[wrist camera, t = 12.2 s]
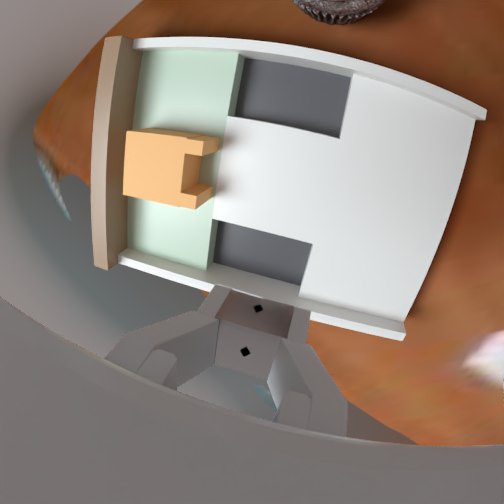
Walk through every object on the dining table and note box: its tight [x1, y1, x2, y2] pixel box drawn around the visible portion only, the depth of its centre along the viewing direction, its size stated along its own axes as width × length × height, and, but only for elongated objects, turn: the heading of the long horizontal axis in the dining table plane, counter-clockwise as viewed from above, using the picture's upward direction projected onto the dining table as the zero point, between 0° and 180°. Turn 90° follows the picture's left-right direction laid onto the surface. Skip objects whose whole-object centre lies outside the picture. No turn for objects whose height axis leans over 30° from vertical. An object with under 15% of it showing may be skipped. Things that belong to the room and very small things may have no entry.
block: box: [123, 128, 220, 210], centre depth 27 cm, size 6×8×4 cm
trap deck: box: [91, 36, 487, 341], centre depth 26 cm, size 24×34×6 cm
